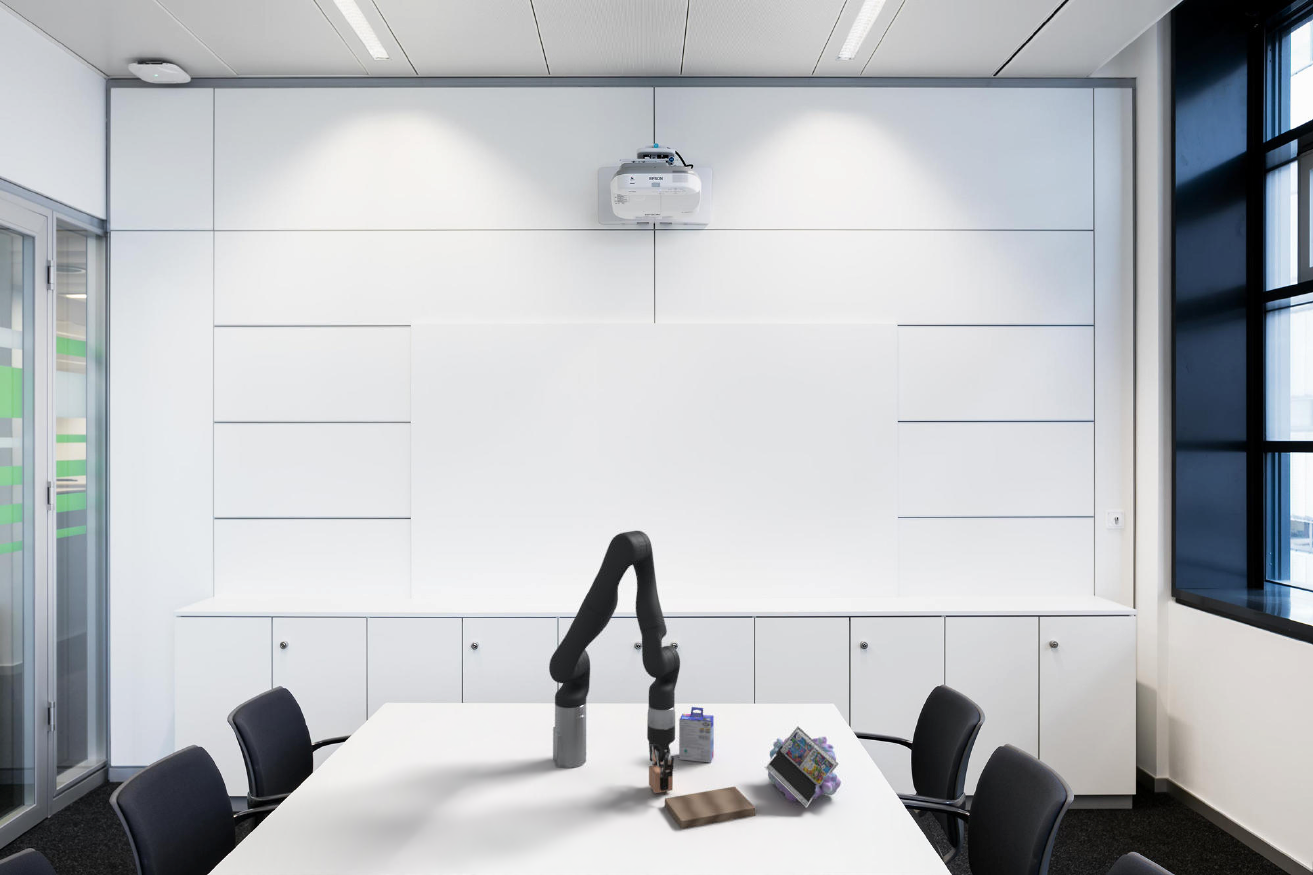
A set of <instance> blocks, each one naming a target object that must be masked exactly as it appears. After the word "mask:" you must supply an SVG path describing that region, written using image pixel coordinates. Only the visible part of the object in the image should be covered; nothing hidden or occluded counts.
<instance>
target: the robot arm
mask: <svg viewBox="0 0 1313 875" xmlns="http://www.w3.org/2000/svg"><path fill="white" fill-rule="evenodd" d="M631 566H632V567H633V570H634V572H635V573H634V574H635V577H636V595H635V615H636V618H637V623H638V628H639V630H640V634H641V655H642V656H641V659H642V664H643V667H644V669H645V672H646V673H647V674H648V675H649V676H650V677H651V678H655V680H653V682H652V683H651V684H650V686H649V688H648V706H647V707H648V710H647V721H646V722H647V732H646V736H647V741H648V748H649V750H648V752H649V762H650V763H651V766H654V765H657V766H658V767H659V769H660V789H661V791H664V790H668V787H669V777H672V774H673V772H674V764H675V757H674V756H673V755H671V747H670V745H671V744H672V743H673V742H675V739H676V710H675V704H676V703H675V698H676V697H675V690H676V687H677V684H678V678H679V673H680V669H681V661H680V660H681V659H680V655H679V653H678V650H677V649H676V648H675V647H673V646H671V645H665V646H663V645H662V644H663V643H662V642H663V639H664V638H665V637H666V635H667V631H668V630H667V626H666V622H665V617H664V614H663V611H662V606H661V603H660V597H659V594H658V586H657V579H656V570H655V569H656V568H655V563H654V553H653V546H652V542H651V540H650V537H649V536H648V534H646V533H645V532H644V531H642V530H632V531H625V532H620V533H618V534H616V535H615V536H614V537H613V538H612V539H611V540H610V542H609V544H608V547H607V549H606V552H605V554H604V557H603V560H602V563H601V565H600V567H599V571H598V573H597V574H596V576H595V578H594V579H593V582H592V584H591V586H590V588H589V590H588V592H587V593H586V595H585V597H584V599H583V601H582V603H581V605H580V607H579V609H578V611H577V613H576V615H575V617H574V619H573V620H572V622H571V624H570V626H569V629H568V631H567V633H566V634H565V636H564V638H563V639H562V641H561V642H560V644H559V645H558V647H557V648H556V649H555V651H554V652H553V654H552V655H551V658H550V659H549V665H548V666H549V667H548V669H549V670H548V671H549V675H550V677H551V679H552V680H553V681H555V683H559V684H562V685H561V686H560V687H559V689H558V690H557V691H556V692H555V695H554V727H553V728H552V760H553V762H554V763H555V765H556V767H557V768H576V767H577V768H578V767H580V766H583V765H584V764H585V763H586V761H587V698H588V695H589V692H590V684H591V682H590V679H591V661H590V660H591V659H590V655H589V653H588V651H587V650H586V649H587V647H588V646H589V645H590V644H591V643H592V642H593V641H594V640H595V639H596V638H597V637H598V636H599V635H600V634H601V633H602V632H603V631H604V629H605V628H606V627H607V625H608V624H609V622H610V620H611V618H612V617H613V615H614V613H615V611H616V608H617V607H618V601H619V585H620V583H621V581H622V579H623V577H624V575H625V574H626V572H627V570H628V569H629V568H630V567H631ZM662 768H663V769H662ZM664 792H665V791H664Z"/></svg>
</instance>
